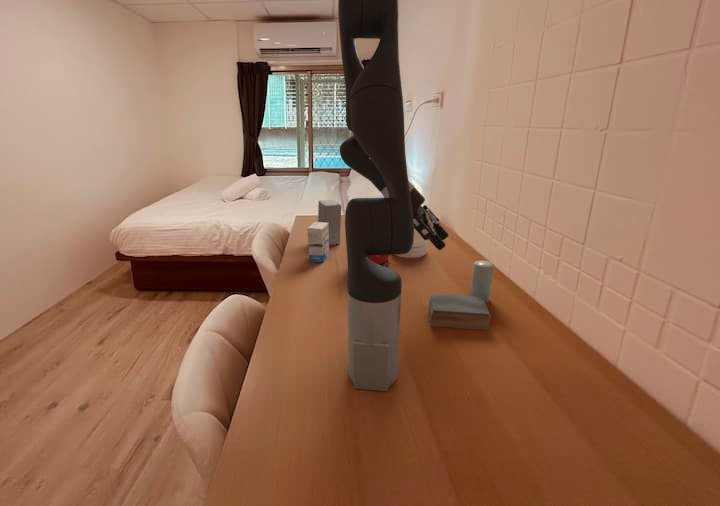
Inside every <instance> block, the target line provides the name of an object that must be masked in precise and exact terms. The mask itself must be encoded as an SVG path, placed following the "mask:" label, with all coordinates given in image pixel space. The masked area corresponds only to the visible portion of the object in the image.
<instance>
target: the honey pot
mask: <svg viewBox="0 0 720 506" xmlns="http://www.w3.org/2000/svg"><path fill="white" fill-rule="evenodd" d="M427 247H428V240H426V241H425V240H424V239H423V238H422V236H421V235H420V234H419V233H418V232H417V231H416V230H415V228H414V239H413V245H412V248H411V250H410V251H409V252H408V253H406V254H400V255H395V256H397V257H401V258H407V259H408V258H411V259H412V258H413V259H414V258H421V257H423V256H425V255H426V254H427V251H428V250H427V249H428V248H427Z"/></svg>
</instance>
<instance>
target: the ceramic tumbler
mask: <svg viewBox="0 0 720 506" xmlns="http://www.w3.org/2000/svg"><path fill="white" fill-rule="evenodd" d="M472 266H473V267H472V275H471V282H470V283H471V285H470V292H469V293H470V294H469V296H476V297H483V299H484V301H485V304H488V303H490V300H491V292H492V285H493V278H494V269H495V264H494V263H493V262H492V261H488V260H475V261H474V262H473V265H472Z"/></svg>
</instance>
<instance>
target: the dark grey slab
mask: <svg viewBox="0 0 720 506" xmlns="http://www.w3.org/2000/svg"><path fill="white" fill-rule="evenodd" d="M428 302H429V303H428V312H429V314H428V315H429V322H430V323H429V324H430V327H435V328H436V327H437V328H451V329H453V328H454V329H465V330H479V331H481V330H482V331H489V330H490V325H491V318H492V317H491V314H490V312H489V309H488V306H487V303H485V301H484V299H483V297H476V296H470V295H455V294H439V293H431V294H430V295H429V301H428Z"/></svg>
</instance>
